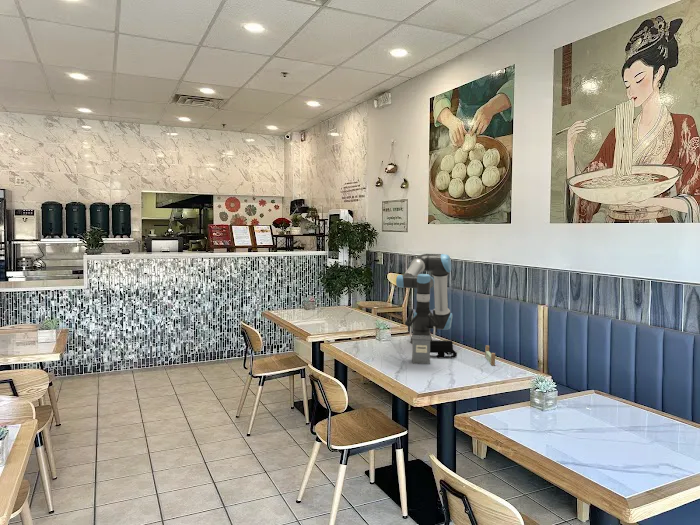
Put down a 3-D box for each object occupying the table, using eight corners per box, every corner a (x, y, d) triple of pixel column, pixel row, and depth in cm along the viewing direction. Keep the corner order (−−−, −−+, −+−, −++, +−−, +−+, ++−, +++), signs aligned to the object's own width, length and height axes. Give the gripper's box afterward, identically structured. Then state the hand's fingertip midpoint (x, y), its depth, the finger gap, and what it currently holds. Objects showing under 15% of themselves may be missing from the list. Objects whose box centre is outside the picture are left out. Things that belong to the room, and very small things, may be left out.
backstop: (485, 356, 328) (485, 345, 328) (488, 356, 328) (488, 345, 327) (491, 365, 307) (491, 353, 307) (494, 365, 307) (495, 353, 307)
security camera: (457, 358, 322) (458, 342, 322) (427, 358, 323) (427, 342, 322) (455, 355, 329) (455, 340, 328) (426, 355, 330) (426, 339, 329)
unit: (411, 358, 320) (411, 335, 319) (429, 359, 319) (429, 335, 318) (412, 363, 309) (412, 339, 308) (430, 364, 308) (431, 339, 307)
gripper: (401, 301, 298) (400, 338, 299) (445, 302, 296) (444, 339, 297) (401, 299, 305) (400, 335, 307) (444, 300, 303) (443, 336, 305)
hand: (422, 337), depth 302 cm, fingers open, 13 cm apart
